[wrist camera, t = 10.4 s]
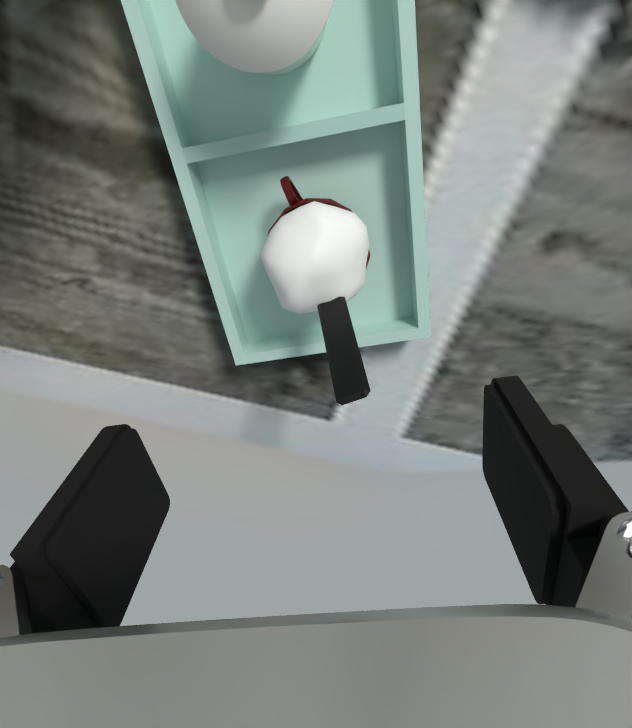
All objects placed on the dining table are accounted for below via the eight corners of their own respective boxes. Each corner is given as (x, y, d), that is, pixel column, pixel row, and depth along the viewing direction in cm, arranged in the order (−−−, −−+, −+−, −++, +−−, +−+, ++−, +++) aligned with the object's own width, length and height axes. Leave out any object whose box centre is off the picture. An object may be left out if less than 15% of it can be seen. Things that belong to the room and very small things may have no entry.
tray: (392, -200, 19) (402, -248, 17) (422, 318, 32) (431, 336, 30) (104, -120, 21) (72, -152, 18) (242, 346, 34) (235, 365, 31)
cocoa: (268, 173, 27) (218, 195, 16) (369, 170, 26) (386, 192, 16) (278, 315, 31) (245, 406, 21) (365, 315, 31) (376, 407, 20)
